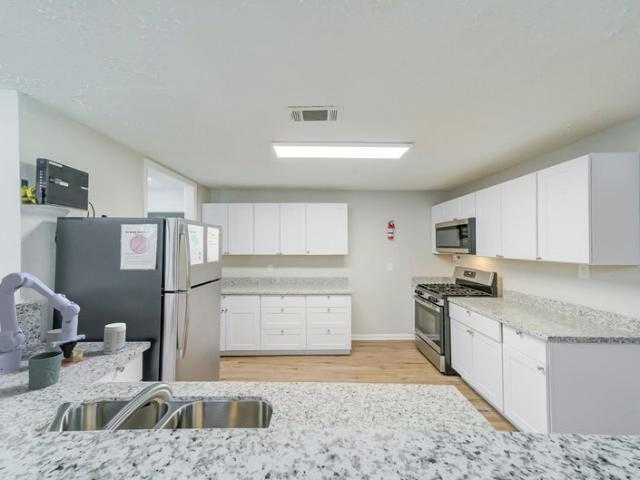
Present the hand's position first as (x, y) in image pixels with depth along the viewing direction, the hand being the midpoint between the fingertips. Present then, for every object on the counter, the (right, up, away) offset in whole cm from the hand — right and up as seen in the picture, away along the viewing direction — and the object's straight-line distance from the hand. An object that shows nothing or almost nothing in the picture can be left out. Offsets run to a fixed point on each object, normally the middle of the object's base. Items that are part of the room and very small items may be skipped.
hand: (66, 357), depth 133 cm
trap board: (0, -3, +1) cm, 3 cm away
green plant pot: (+11, -2, -22) cm, 25 cm away
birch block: (0, -2, +3) cm, 4 cm away
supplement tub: (+11, -4, +16) cm, 20 cm away
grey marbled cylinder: (-15, -3, +10) cm, 18 cm away
